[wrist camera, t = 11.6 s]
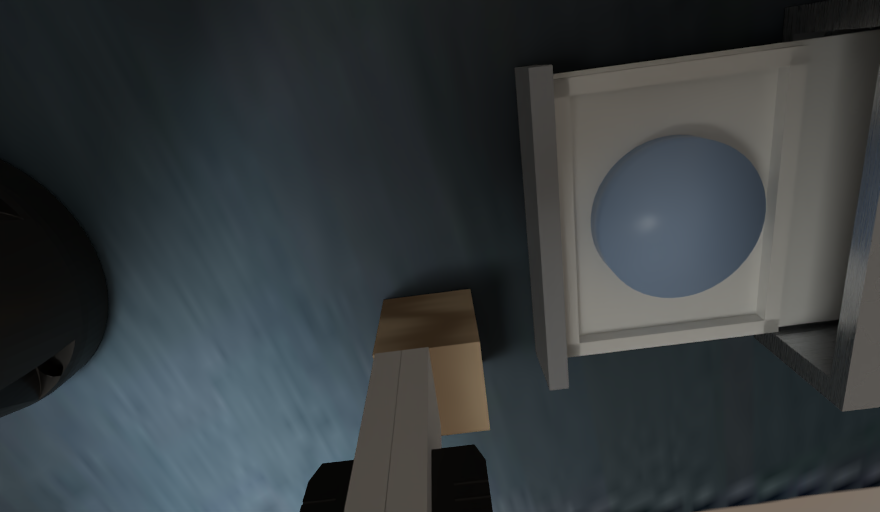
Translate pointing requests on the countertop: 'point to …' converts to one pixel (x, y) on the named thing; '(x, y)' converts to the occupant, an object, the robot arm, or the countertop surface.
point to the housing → (871, 254)
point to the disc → (678, 215)
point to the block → (442, 352)
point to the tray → (716, 118)
